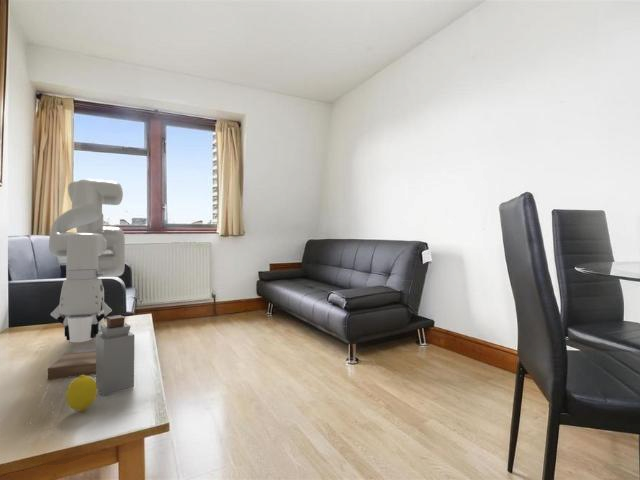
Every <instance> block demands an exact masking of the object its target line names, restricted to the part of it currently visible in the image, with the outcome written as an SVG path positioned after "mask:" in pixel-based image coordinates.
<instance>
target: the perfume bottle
mask: <svg viewBox="0 0 640 480" xmlns="http://www.w3.org/2000/svg"><path fill="white" fill-rule="evenodd" d="M105 317H106V324H104V325H103V326H100V327H101V331H102V334H97V335H96V336H95V337H96V338H95V343H96V344H95V351H96V374H95V382H96V385H97V392H99V394H101V396H103V397H106V396H110V395H112V394H118V393H119V392H123V391H127V390H130V389H134V388H135V334H134V333H133V332H130V329H131V325H130V324H128V323H126V322H125V316H123V315H121V314H119V315H112V316H105ZM133 387H134V388H133Z"/></svg>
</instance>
